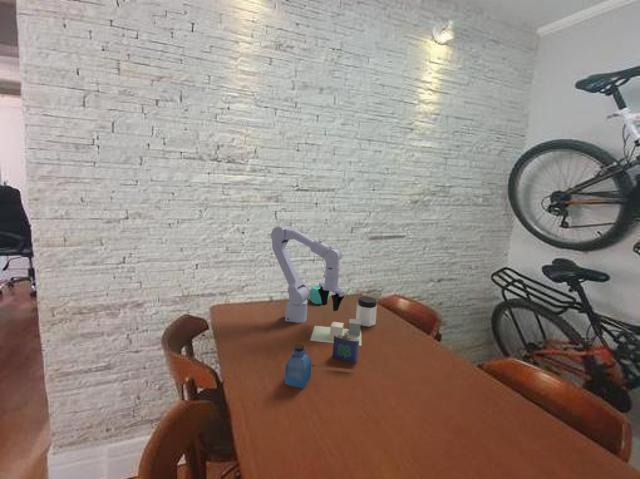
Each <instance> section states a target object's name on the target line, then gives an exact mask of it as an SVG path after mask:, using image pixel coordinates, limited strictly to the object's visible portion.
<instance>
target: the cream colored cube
mask: <svg viewBox="0 0 640 479" xmlns="http://www.w3.org/2000/svg"><path fill="white" fill-rule="evenodd" d="M344 324H345V323H344V322H338V321H332V322H331V324H330V327H331V329H330V338H334V335H336V334H340V335H342V336H343V329H344Z"/></svg>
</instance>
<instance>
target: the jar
mask: <svg viewBox="0 0 640 479" xmlns="http://www.w3.org/2000/svg"><path fill="white" fill-rule="evenodd" d="M357 301H358V302H357V303H356V310H355V311H356V314H355V315H356V316H355V319H358V320H360V322H361V325H360V326H363V327H368V328H369V327H373V326H375V325H376V322H377V312H378V310H377V309H378V306H377V299H376V298H375V297H373V296H367V295H366V296H365V295H364V296H359V297H358V299H357Z"/></svg>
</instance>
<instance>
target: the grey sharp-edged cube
mask: <svg viewBox="0 0 640 479" xmlns="http://www.w3.org/2000/svg"><path fill="white" fill-rule="evenodd" d="M348 320H349V323H348V329H349V335H358V336H360V330H361V326H362V325H361V322H360V320H358V319H356V318H349V319H348Z"/></svg>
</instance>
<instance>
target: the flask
mask: <svg viewBox="0 0 640 479" xmlns="http://www.w3.org/2000/svg"><path fill="white" fill-rule="evenodd" d="M348 335H349V333H348V334H347V333H345V335H343V336H342V335H340V334H336V335H334V343H332V344H333V345H332V357H333V358H334V359H336V360H340V361H344V362H349V363H358V360H359V340H358V339H356V338H350V337H348Z"/></svg>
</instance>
